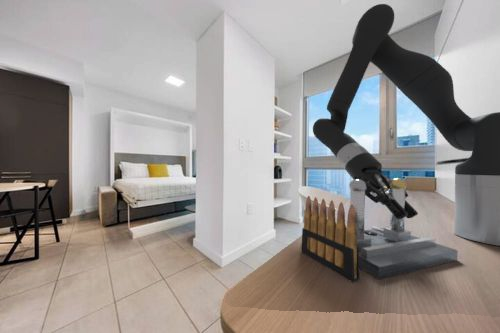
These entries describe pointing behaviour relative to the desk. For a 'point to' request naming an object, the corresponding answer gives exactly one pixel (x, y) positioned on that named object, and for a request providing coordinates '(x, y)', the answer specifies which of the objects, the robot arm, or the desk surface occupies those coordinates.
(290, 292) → the desk surface
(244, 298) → the desk surface
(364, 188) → the silver ball-topped post
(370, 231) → the plate
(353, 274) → the ammunition clip
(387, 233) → the gold topped lever
